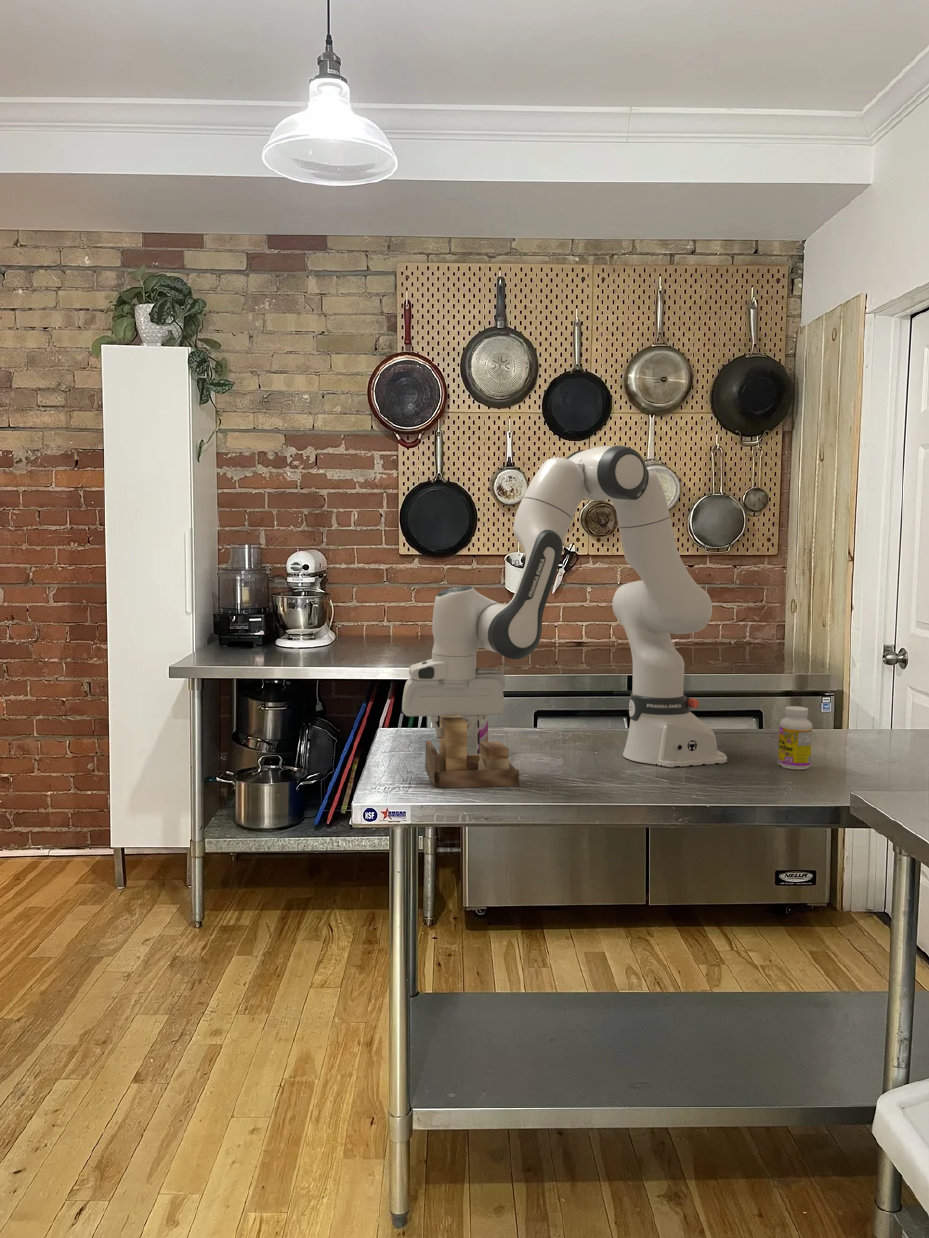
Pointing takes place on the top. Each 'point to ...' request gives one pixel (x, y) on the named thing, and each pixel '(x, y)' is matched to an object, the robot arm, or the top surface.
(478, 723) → the candy bar box
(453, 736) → the light brown wooden block
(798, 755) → the supplement bottle
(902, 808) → the top surface
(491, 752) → the offcut top
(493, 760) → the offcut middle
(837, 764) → the top surface
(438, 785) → the rack
